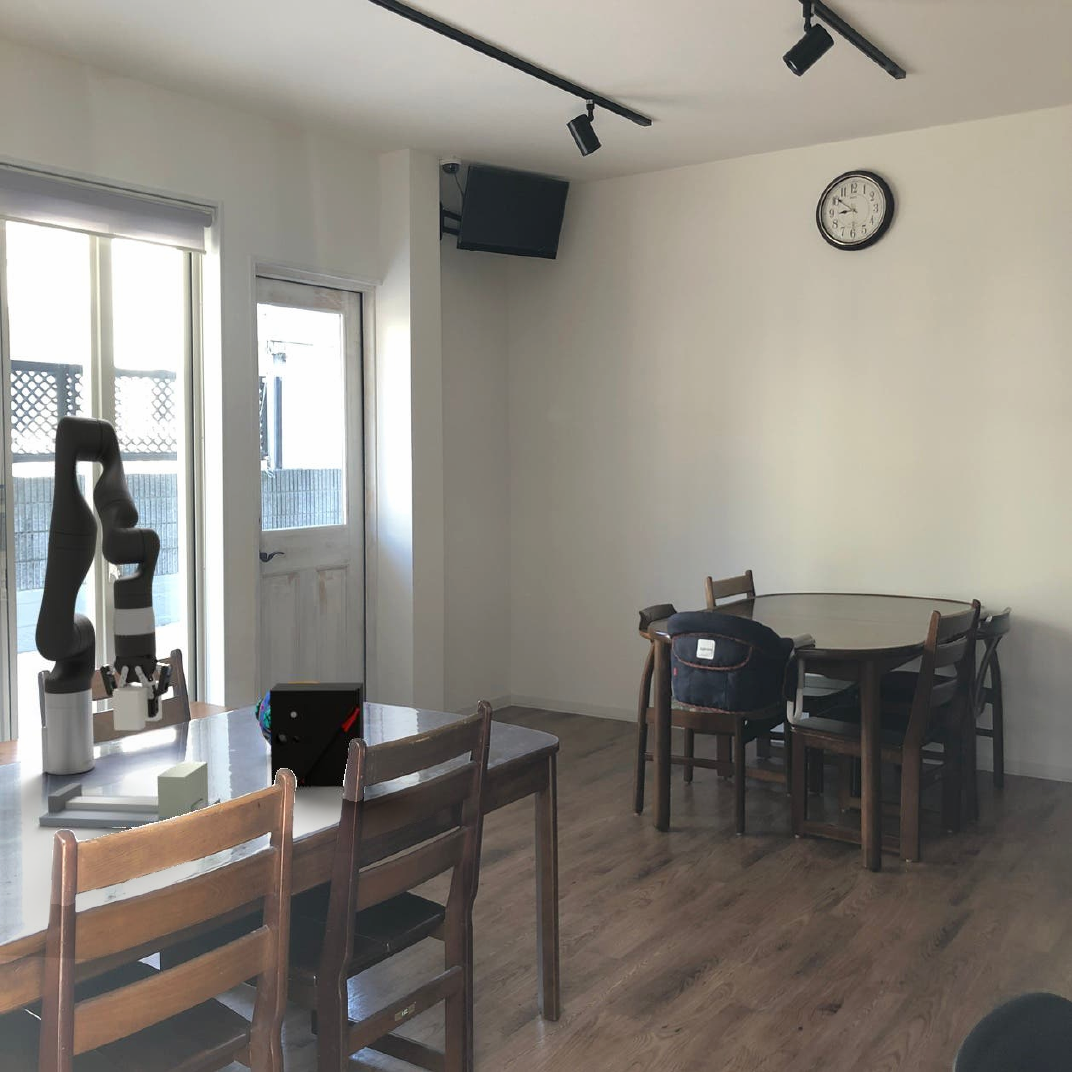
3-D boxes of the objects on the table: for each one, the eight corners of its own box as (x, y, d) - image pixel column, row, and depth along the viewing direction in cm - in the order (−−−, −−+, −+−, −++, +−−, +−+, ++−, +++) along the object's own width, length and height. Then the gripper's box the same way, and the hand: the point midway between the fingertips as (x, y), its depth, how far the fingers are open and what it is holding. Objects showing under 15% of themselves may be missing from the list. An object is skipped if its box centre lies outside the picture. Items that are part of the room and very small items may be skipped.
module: (114, 730, 204) (112, 691, 203) (138, 718, 214) (136, 681, 213) (139, 730, 203) (137, 691, 203) (162, 718, 213) (160, 680, 213)
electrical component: (365, 774, 224) (364, 680, 223) (359, 789, 214) (358, 690, 213) (281, 775, 223) (279, 681, 222) (270, 790, 213) (269, 691, 212)
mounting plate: (39, 825, 192) (37, 776, 192) (80, 801, 206) (79, 755, 206) (188, 830, 189) (187, 780, 189) (220, 806, 203) (219, 759, 203)
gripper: (178, 627, 210) (181, 712, 211) (108, 627, 212) (112, 712, 213) (162, 633, 203) (165, 721, 204) (89, 633, 204) (93, 721, 205)
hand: (138, 716), depth 208 cm, fingers closed on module, 5 cm apart
